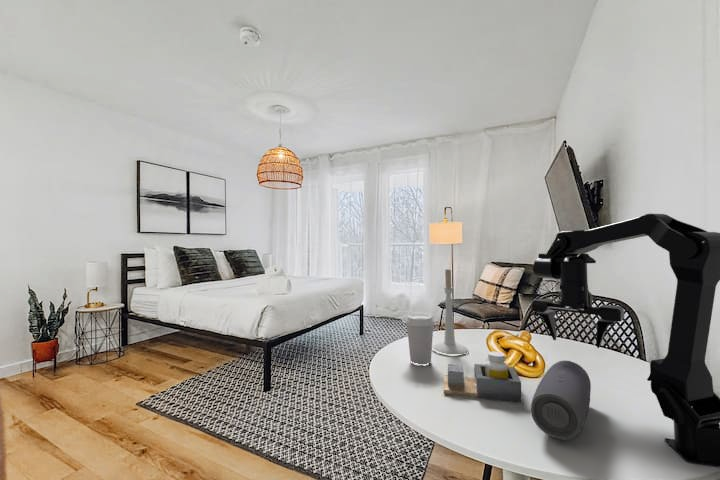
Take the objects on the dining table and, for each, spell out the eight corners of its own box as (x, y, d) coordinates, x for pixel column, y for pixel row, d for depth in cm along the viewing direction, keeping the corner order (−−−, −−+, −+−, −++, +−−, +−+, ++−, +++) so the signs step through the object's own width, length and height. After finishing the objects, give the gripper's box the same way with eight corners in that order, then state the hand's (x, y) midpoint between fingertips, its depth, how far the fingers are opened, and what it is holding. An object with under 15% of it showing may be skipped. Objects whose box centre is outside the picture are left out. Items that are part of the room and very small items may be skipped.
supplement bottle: (513, 395, 80) (512, 356, 80) (494, 398, 79) (493, 358, 79) (500, 386, 85) (499, 349, 85) (481, 388, 84) (480, 351, 84)
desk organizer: (521, 403, 76) (521, 381, 76) (443, 394, 81) (443, 373, 81) (514, 385, 85) (513, 366, 85) (445, 379, 90) (444, 360, 91)
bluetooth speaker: (548, 394, 80) (546, 354, 81) (593, 405, 74) (592, 362, 75) (527, 436, 63) (526, 384, 63) (585, 454, 57) (583, 398, 57)
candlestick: (470, 357, 108) (468, 269, 109) (431, 355, 111) (429, 269, 112) (466, 346, 120) (464, 267, 121) (432, 344, 123) (430, 267, 124)
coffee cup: (401, 365, 102) (400, 318, 102) (411, 356, 110) (410, 312, 111) (431, 370, 97) (430, 320, 98) (438, 360, 106) (437, 315, 106)
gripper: (626, 280, 79) (628, 344, 78) (543, 276, 92) (544, 330, 92) (619, 284, 71) (621, 355, 70) (529, 279, 84) (531, 338, 84)
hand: (575, 343), depth 79 cm, fingers open, 9 cm apart
